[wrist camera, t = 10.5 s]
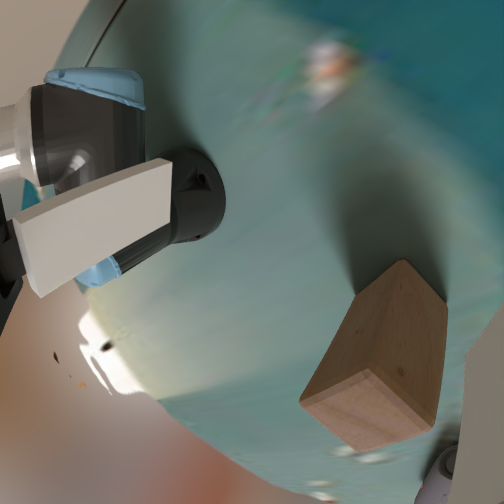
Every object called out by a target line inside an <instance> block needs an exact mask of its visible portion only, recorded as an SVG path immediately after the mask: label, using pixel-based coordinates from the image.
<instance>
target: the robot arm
mask: <svg viewBox="0 0 504 504" xmlns="http://www.w3.org/2000/svg"><path fill="white" fill-rule="evenodd" d="M44 82H45V83H46V84H43V85H38V86H33V87H30V88H29V89H28V90H27V91H26V93H25V94H24V96H23V97H22V98H21V99H20V100H19V101H18V102H17V103H16V104H13V105H9V106H5V107H2V108H0V184H2V183H5V182H9V181H12V180H16V179H20V178H26V179H27V180H29V181H30V182H32V183H33V184H35V185H36V186H37V187H42V186H46V185H50V184H54V188H55V194H56V196H54V197H52V198H50V199H47V200H45V201H43V202H41V203H38V204H36V205H34V206H32V207H30V208H27V209H25V210H23V211H21V212H19V213H17V214H15V215H13V216H12V219H11V220H9V221H7V222H6V218H5V213H4V208H3V203H2V198H1V194H0V336H1V334H2V331H3V329H4V326H5V324H6V321H7V319H8V317H9V314H10V312H11V310H12V308H13V305H14V303H15V301H16V299H17V297H18V294H19V292H20V290H21V288H22V285H23V280H22V276H23V275H25V274H27V277H28V280H29V283H30V286H31V288H32V289H33V290H34V291H35V292H36V294H37V295H38V296H39V297H40V298H42V297H43V296H45V295H47V294H48V293H50V292H51V291H53V290H55V289H56V288H58V287H59V286H61V285H63V284H64V283H66V282H67V281H69V280H70V279H72V278H74V277H75V278H76V279H77V280H78V281H80V282H81V283H83V284H85V285H87V286H90V287H98V286H101V285H103V284H105V283H107V282H109V281H111V280H113V279H115V278H119V277H120V276H121V275H122V274H124V273H125V272H127V271H128V270H130V269H131V268H133V267H135V266H136V265H138V264H139V263H141V262H142V261H144V260H146V259H147V258H149V257H150V256H152V255H154V254H155V253H157V252H158V251H160V250H162V249H163V248H165V247H166V246H168V245H170V244H176V243H183V242H190V241H196V240H199V239H202V238H204V237H205V236H207V235H209V234H210V233H212V232H213V231H214V230H216V229H217V227H218V226H219V225H220V223H221V221H222V219H223V216H224V212H225V192H224V187H223V184H222V181H221V179H220V176H219V174H218V172H217V171H216V169H215V167H214V166H213V165H212V163H211V162H210V161H209V160H208V159H207V158H206V157H205V156H204V155H202V154H201V153H200V152H198V151H196V150H194V149H191V148H187V147H178V148H174V149H170V150H167V151H164V152H162V153H160V154H159V155H158V156H156V157H155V158H154V159H153V160H151V161H148V162H145V130H144V111H146V106H145V105H144V88H143V80H142V78H141V76H140V75H139V74H138V73H137V72H135V71H132V70H128V69H120V68H104V67H80V68H69V69H55V70H50V71H48V72H47V73H46V75H45V78H44ZM447 504H504V302H503V303H502V305H501V306H500V308H499V309H498V311H497V312H496V314H495V315H494V317H493V318H492V320H491V321H490V322H489V324H488V325H487V327H486V328H485V329H484V331H483V332H482V334H481V335H480V336H479V338H478V339H477V340H476V342H475V343H474V344H473V346H472V347H471V348H470V350H469V351H468V352H467V353H466V355H465V373H464V394H463V407H462V418H461V427H460V436H459V443H458V450H457V456H456V462H455V468H454V473H453V478H452V483H451V487H450V492H449V496H448V500H447Z"/></svg>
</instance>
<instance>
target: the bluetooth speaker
mask: <svg viewBox="0 0 504 504" xmlns="http://www.w3.org/2000/svg"><path fill="white" fill-rule="evenodd" d="M457 450H458V445H453V446H450V447H448V448H446V449H445V450H444V451H443V452H442V453H441V454H440V456H439V457H438V458H437V460H436V461H435V463H434V465H433V466H432V468H431V470H430V471H429V473H428V475H427V476H426V478H425V480H424V482H423V483H422V485H421V488H420V490H419V492H418V494H417V496H416V498H415V502H414V504H447V500H448V496H449V492H450V487H451V483H452V478H453V473H454V468H455V462H456V456H457Z"/></svg>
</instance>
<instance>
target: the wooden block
mask: <svg viewBox="0 0 504 504" xmlns="http://www.w3.org/2000/svg"><path fill="white" fill-rule="evenodd" d="M447 321H448V308H447V305H446V303H445V302H444V301H443V300H442V299H441V298H440V297H439V296H438V294H437V293H436V292H435V291H434V290H433V289H432V288H431V287H430V285H429V284H428V283H427V282H426V281H425V280H424V279H423V278H422V277H421V276H420V275H419V273H418V272H417V271H416V270H415V269H414V268H413V267H412V266H411V265H410V264H409V263H408V262H407V261H406V260H404V259H401V260H399V261H397V262H395V263H394V264H393V265H392V266H391V267H390V268H388V269H387V270H386V271H385V272H384V273H383V274H381V275H380V276H379V277H378V278H377V279H376V280H374V281H373V282H372V283H371V284H370V285H368V286H367V287H366V288H365V289H363V290H362V291H361V292H360V293H359V294H357V295H356V296H355V298H354V300H353V302H352V304H351V306H350V308H349V310H348V312H347V314H346V316H345V318H344V320H343V322H342V323H341V325H340V327H339V329H338V331H337V333H336V335H335V337H334V339H333V341H332V342H331V344H330V346H329V348H328V350H327V352H326V353H325V355H324V357H323V359H322V361H321V362H320V364H319V366H318V368H317V369H316V371H315V373H314V375H313V376H312V378H311V380H310V381H309V383H308V385H307V387H306V388H305V390H304V392H303V393H302V395H301V397H300V400H299V404H300V405H301V407H302V408H303V409H304V410H305V411H307V412H308V413H309V414H310V415H311V416H313V417H314V418H315V419H316V420H317V421H319V422H320V423H321V424H322V425H324V426H325V427H326V428H327V429H329V430H330V431H331V432H332V433H334V434H335V435H336V436H337V437H339V438H340V439H341V440H342V441H344V442H345V443H346V444H348V445H349V446H350V447H351V448H353V449H354V450H356V451H359V452H366V451H370V450H373V449H377V448H380V447H384V446H387V445H390V444H393V443H396V442H400V441H403V440H406V439H408V438H411V437H414V436H417V435H420V434H423V433H425V432H427V431H429V430H430V429H431V428H432V427H433V425H434V424H435V419H436V414H437V408H438V403H439V397H440V390H441V383H442V376H443V368H444V359H445V349H446V337H447Z"/></svg>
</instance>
